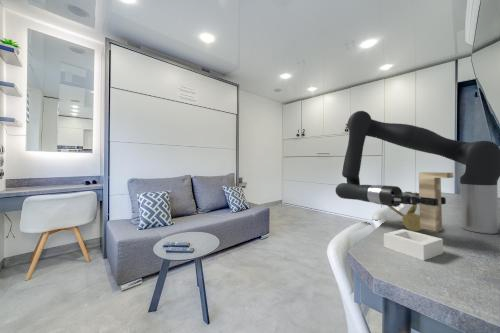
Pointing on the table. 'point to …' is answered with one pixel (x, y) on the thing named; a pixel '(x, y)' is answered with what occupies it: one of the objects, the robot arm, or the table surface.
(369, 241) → the table surface
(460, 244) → the table surface
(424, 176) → the wooden l-shaped block
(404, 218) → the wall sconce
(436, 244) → the square well
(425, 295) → the table surface
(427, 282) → the table surface
